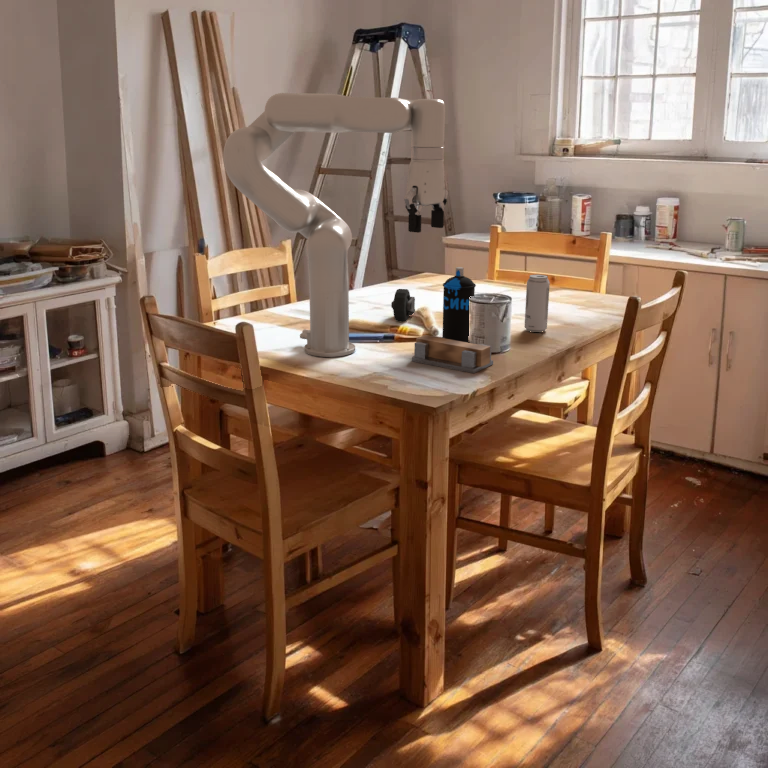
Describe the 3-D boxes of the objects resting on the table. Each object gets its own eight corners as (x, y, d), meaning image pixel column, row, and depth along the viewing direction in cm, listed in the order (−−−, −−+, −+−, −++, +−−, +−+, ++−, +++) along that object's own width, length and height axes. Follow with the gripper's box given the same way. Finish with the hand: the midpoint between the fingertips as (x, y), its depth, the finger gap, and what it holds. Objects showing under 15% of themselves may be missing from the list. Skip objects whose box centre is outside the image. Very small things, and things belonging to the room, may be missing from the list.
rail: (416, 354, 217) (416, 338, 215) (425, 350, 220) (425, 335, 219) (480, 367, 207) (481, 350, 205) (489, 363, 210) (490, 346, 208)
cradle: (412, 361, 215) (412, 342, 213) (432, 352, 222) (432, 335, 220) (473, 373, 205) (474, 354, 204) (493, 364, 212) (493, 346, 211)
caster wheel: (408, 328, 250) (418, 311, 263) (408, 295, 246) (418, 279, 260) (388, 327, 251) (399, 310, 265) (388, 293, 247) (399, 278, 261)
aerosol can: (448, 340, 233) (450, 263, 227) (478, 344, 230) (481, 266, 224) (436, 347, 226) (437, 269, 220) (466, 351, 223) (469, 271, 217)
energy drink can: (523, 327, 247) (526, 273, 242) (545, 328, 246) (549, 274, 242) (524, 333, 241) (527, 278, 236) (547, 333, 240) (551, 278, 236)
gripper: (433, 152, 216) (432, 224, 221) (392, 156, 202) (392, 232, 208) (460, 154, 212) (458, 227, 217) (420, 157, 198) (419, 235, 203)
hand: (426, 229), depth 212 cm, fingers open, 9 cm apart
